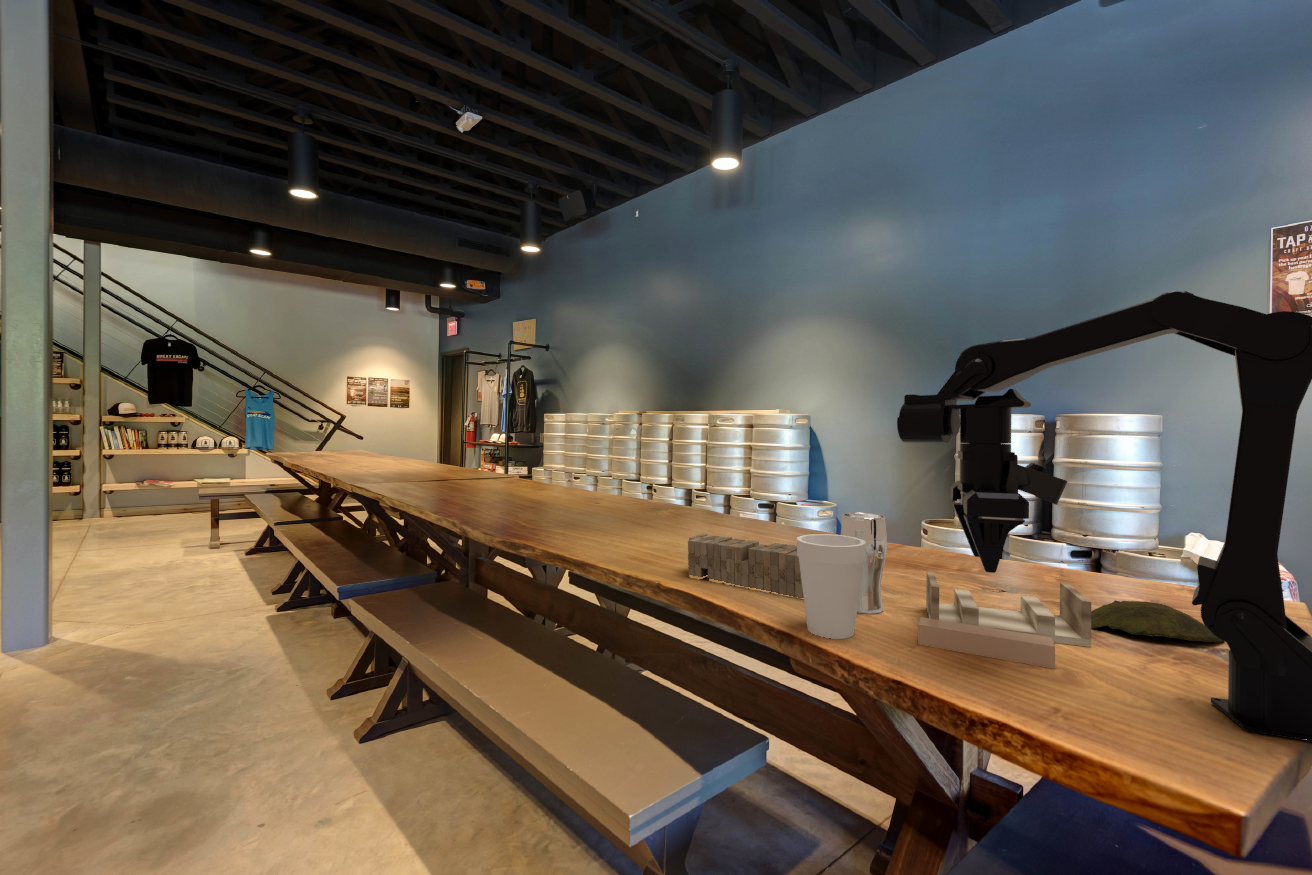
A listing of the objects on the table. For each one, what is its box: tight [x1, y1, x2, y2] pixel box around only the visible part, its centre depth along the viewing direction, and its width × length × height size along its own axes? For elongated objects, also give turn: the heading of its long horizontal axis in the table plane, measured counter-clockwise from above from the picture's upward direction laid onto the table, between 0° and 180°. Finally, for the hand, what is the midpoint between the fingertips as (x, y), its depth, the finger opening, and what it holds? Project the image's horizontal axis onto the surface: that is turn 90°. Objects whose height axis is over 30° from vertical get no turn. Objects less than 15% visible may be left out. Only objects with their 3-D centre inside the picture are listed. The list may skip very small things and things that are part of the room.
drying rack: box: [925, 570, 1092, 648], centre depth 82 cm, size 10×19×6 cm, turn 68°
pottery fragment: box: [1091, 599, 1226, 644], centre depth 80 cm, size 13×14×4 cm
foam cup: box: [796, 533, 866, 640], centre depth 79 cm, size 10×9×13 cm
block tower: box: [687, 533, 804, 599], centre depth 104 cm, size 8×8×29 cm
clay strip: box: [917, 616, 1056, 669], centre depth 72 cm, size 15×4×3 cm, turn 59°
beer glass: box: [840, 512, 888, 615], centre depth 90 cm, size 7×7×15 cm
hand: (984, 563), depth 72 cm, fingers open, 9 cm apart
